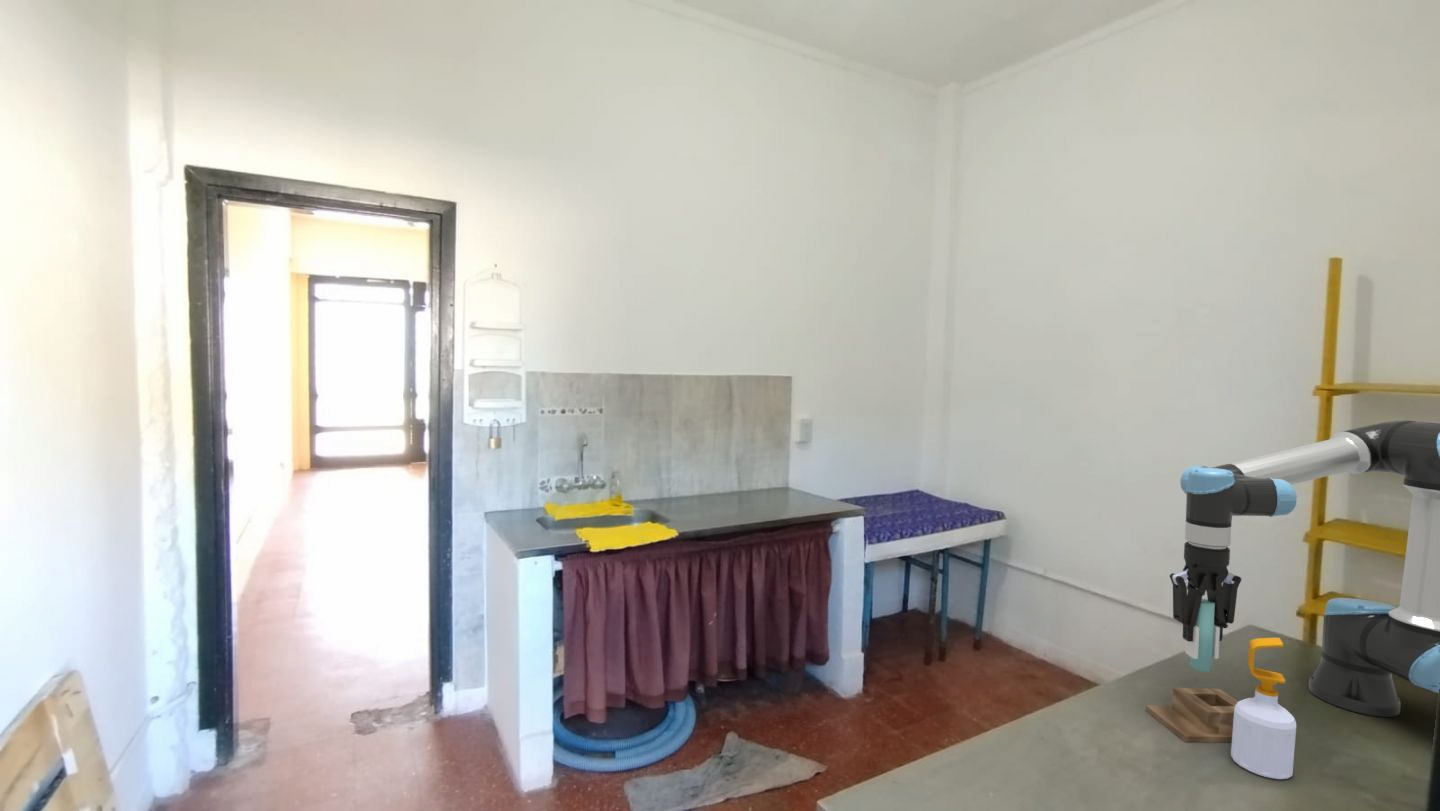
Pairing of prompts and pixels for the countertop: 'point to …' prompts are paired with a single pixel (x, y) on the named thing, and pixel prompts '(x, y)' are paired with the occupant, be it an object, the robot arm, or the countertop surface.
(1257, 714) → the soap bottle
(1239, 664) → the countertop surface
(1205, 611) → the peg
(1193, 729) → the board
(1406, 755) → the countertop surface
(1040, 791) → the countertop surface
